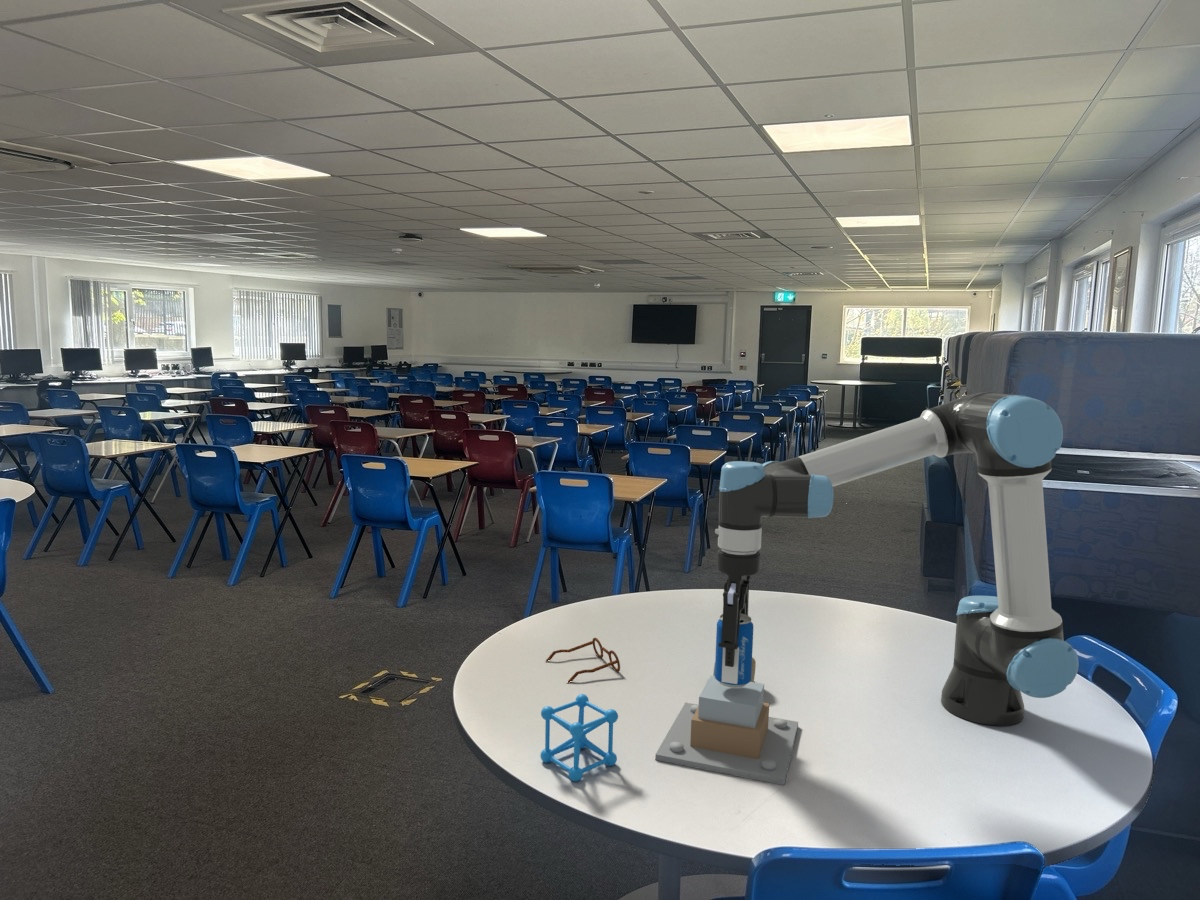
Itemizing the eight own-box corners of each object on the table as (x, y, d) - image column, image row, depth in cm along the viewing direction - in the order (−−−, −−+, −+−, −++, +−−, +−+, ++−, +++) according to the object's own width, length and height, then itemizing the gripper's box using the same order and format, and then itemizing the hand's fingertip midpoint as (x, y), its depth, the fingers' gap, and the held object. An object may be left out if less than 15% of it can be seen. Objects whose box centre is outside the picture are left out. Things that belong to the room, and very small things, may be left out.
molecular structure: (581, 743, 145) (583, 690, 143) (619, 765, 137) (621, 710, 136) (537, 761, 138) (538, 706, 137) (574, 785, 131) (575, 727, 129)
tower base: (797, 726, 152) (800, 676, 151) (784, 785, 132) (787, 727, 131) (685, 707, 160) (686, 659, 158) (655, 759, 139) (657, 705, 138)
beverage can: (723, 691, 140) (726, 625, 139) (708, 676, 147) (711, 613, 145) (757, 687, 142) (760, 622, 141) (741, 673, 148) (744, 610, 147)
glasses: (621, 676, 175) (622, 654, 175) (566, 685, 170) (567, 663, 169) (595, 654, 187) (596, 634, 187) (543, 663, 181) (544, 642, 181)
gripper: (727, 535, 151) (722, 652, 154) (706, 560, 133) (701, 692, 136) (767, 539, 149) (762, 658, 152) (751, 565, 131) (745, 699, 134)
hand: (733, 674), depth 144 cm, fingers closed on beverage can, 6 cm apart
